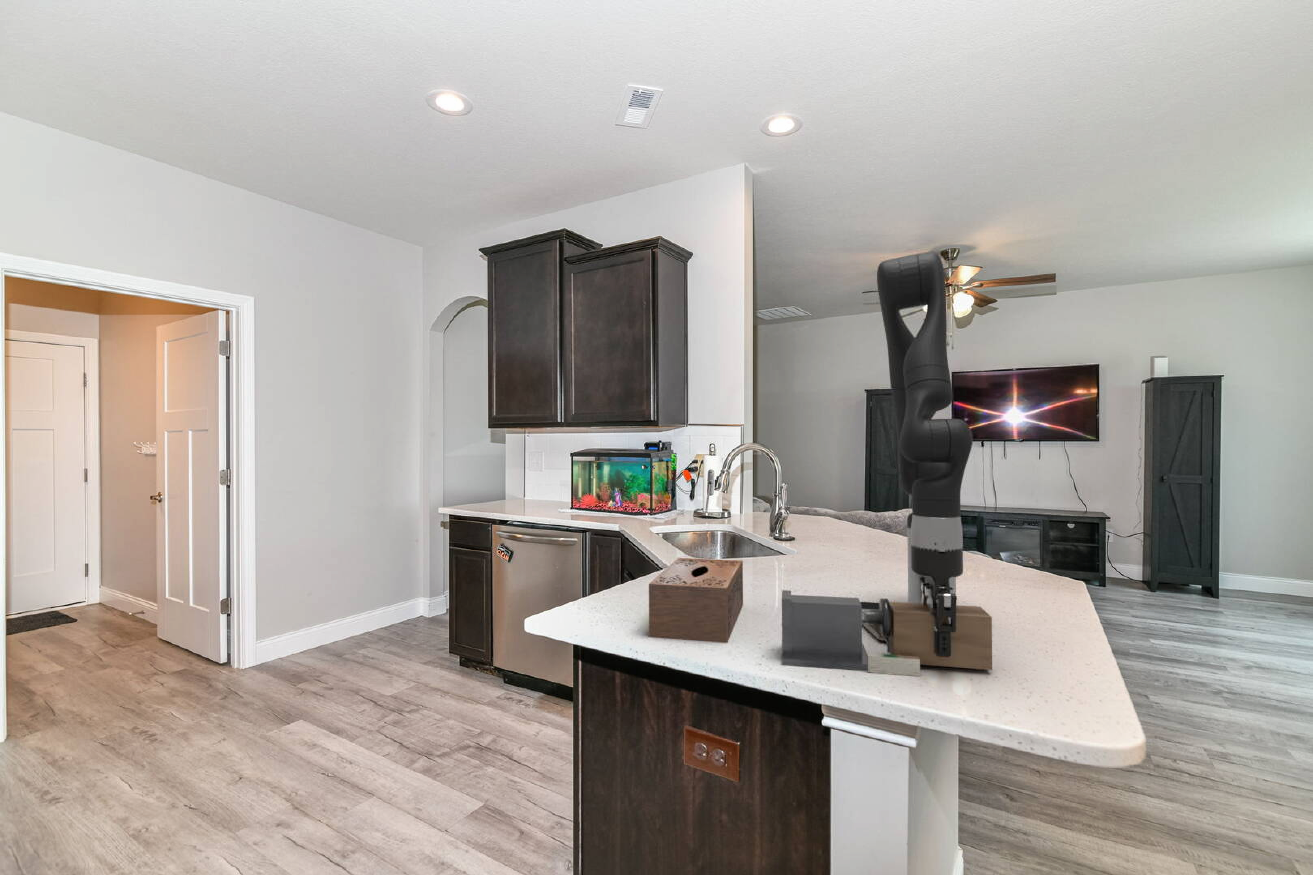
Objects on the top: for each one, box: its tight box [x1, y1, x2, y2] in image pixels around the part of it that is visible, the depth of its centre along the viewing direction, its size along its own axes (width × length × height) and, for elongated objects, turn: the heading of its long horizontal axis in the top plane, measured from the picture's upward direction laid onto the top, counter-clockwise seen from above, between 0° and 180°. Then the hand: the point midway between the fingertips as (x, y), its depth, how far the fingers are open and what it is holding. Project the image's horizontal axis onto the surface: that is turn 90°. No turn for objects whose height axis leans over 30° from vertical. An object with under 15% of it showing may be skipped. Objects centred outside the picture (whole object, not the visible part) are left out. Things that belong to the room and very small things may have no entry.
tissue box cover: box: [648, 557, 744, 644], centre depth 121 cm, size 26×14×10 cm, turn 166°
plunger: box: [862, 598, 891, 654], centre depth 98 cm, size 8×13×7 cm, turn 77°
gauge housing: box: [781, 589, 921, 677], centre depth 98 cm, size 11×20×10 cm, turn 77°
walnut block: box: [889, 601, 993, 671], centre depth 96 cm, size 6×14×8 cm, turn 76°
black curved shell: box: [860, 601, 889, 641], centre depth 113 cm, size 16×8×4 cm, turn 178°
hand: (937, 648), depth 96 cm, fingers closed on walnut block, 6 cm apart
